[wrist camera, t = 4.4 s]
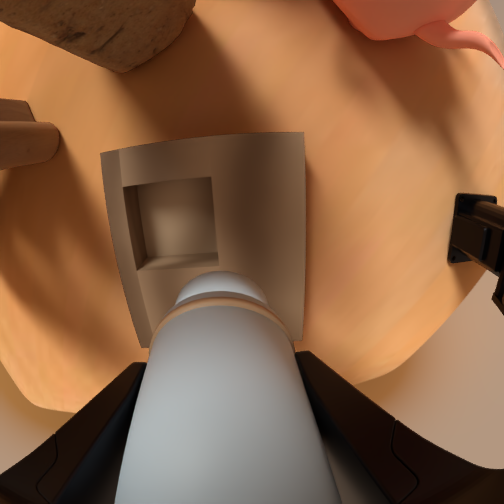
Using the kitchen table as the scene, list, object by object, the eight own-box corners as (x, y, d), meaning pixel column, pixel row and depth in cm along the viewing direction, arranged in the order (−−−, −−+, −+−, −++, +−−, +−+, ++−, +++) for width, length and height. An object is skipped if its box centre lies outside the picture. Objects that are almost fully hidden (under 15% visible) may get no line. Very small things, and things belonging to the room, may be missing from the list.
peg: (277, 255, 9) (391, 498, 2) (279, 350, 11) (330, 542, 3) (154, 265, 9) (53, 501, 2) (177, 358, 11) (155, 551, 3)
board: (293, 134, 17) (304, 132, 14) (294, 318, 22) (302, 340, 19) (119, 152, 17) (100, 153, 14) (150, 325, 22) (141, 347, 19)
